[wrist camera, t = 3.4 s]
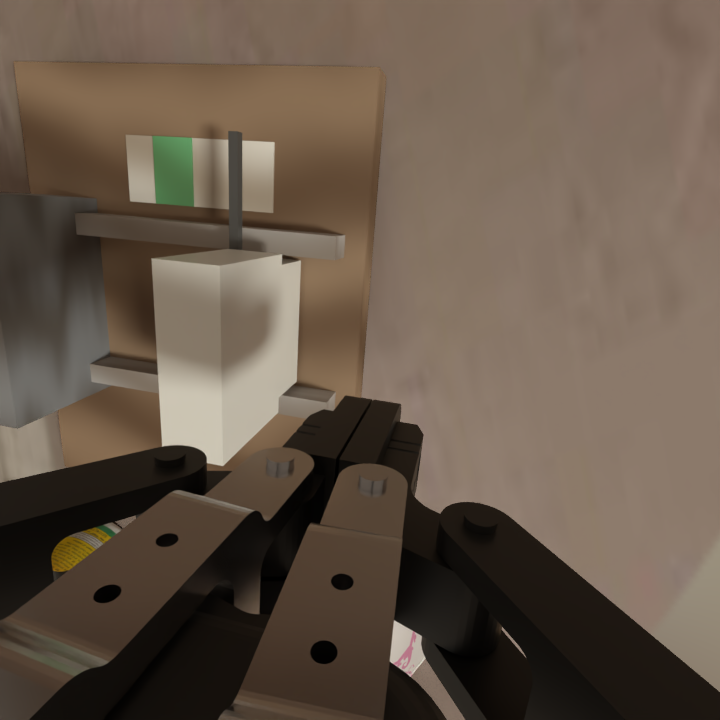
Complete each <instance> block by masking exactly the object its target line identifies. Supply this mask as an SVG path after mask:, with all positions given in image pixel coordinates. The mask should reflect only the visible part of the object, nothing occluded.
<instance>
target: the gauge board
mask: <svg viewBox="0 0 720 720" xmlns="http://www.w3.org/2000/svg"><path fill="white" fill-rule="evenodd" d="M14 69H15V77H16V84H17V92H18V100H19V108H20V116H21V124H22V132H23V140H24V148H25V156H26V164H27V171H28V179H29V187H30V194H28V193H9V192H0V425H2V426H7V427H12V428H17V429H18V428H20V427H22V426H24V425H26V424H29V423H31V422H33V421H35V420H37V419H40V418H42V417H44V416H46V415H48V414H51V413H53V412H55V411H57V410H58V417H59V425H60V432H61V440H62V448H63V456H64V464H65V466H66V467H73V466H78V465H82V464H87V463H91V462H95V461H100V460H104V459H109V458H113V457H118V456H122V455H127V454H131V453H135V452H140V451H144V450H149V449H153V448H158V447H162V435H161V417H160V400H159V382H158V365H157V347H156V330H155V312H154V294H153V277H152V259H151V258H159V257H167V256H175V255H183V254H191V253H199V252H207V251H214V250H222V249H229V169H228V131H238V132H241V133H242V250H245V251H255V252H265V253H275V254H282V259H292V260H301V274H300V302H299V330H298V358H297V382H296V383H295V384H293V385H292V386H291V387H290V388H289V389H288V390H287V391H286V392H284V393H283V394H282V395H281V396H280V397H279V406H278V413H277V414H276V415H275V416H274V417H273V418H272V419H271V420H270V421H269V422H268V423H267V424H266V425H265V426H264V427H263V428H262V429H261V430H260V431H259V432H258V433H257V434H256V435H255V436H254V437H253V438H251V439H250V440H249V441H248V442H247V443H246V444H245V445H244V446H243V447H242V448H241V449H240V450H239V451H238V452H237V453H236V454H235V455H234V456H233V457H232V458H231V459H230V460H229V461H228V462H227V463H226V464H225V465H224V466H220V465H215V464H210V463H207V471H233V470H234V469H236V468H237V467H238V466H239V465H240V464H241V463H243V462H244V461H245V460H246V459H247V458H248V457H250V456H251V455H252V454H254V453H256V452H258V451H260V450H263V449H268V448H276V447H283V445H284V444H285V443H286V442H287V441H288V440H289V438H290V437H291V436H292V435H293V434H294V433H295V432H296V430H297V429H298V428H299V427H300V426H301V425H302V423H303V422H304V421H305V420H306V419H307V418H308V417H309V415H311V414H314V413H316V412H318V411H320V410H323V409H325V410H331V411H334V409H335V408H336V407H337V405H338V404H339V403H340V401H341V400H342V399H343V398H344V396H345V395H347V396H354V397H360V398H361V392H362V379H363V367H364V354H365V341H366V329H367V316H368V303H369V291H370V278H371V266H372V253H373V240H374V228H375V215H376V202H377V190H378V177H379V164H380V152H381V139H382V126H383V114H384V101H385V89H386V76H385V74H384V73H383V71H382V70H381V68H380V67H336V66H272V65H207V64H143V63H79V62H15V61H14Z"/></svg>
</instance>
